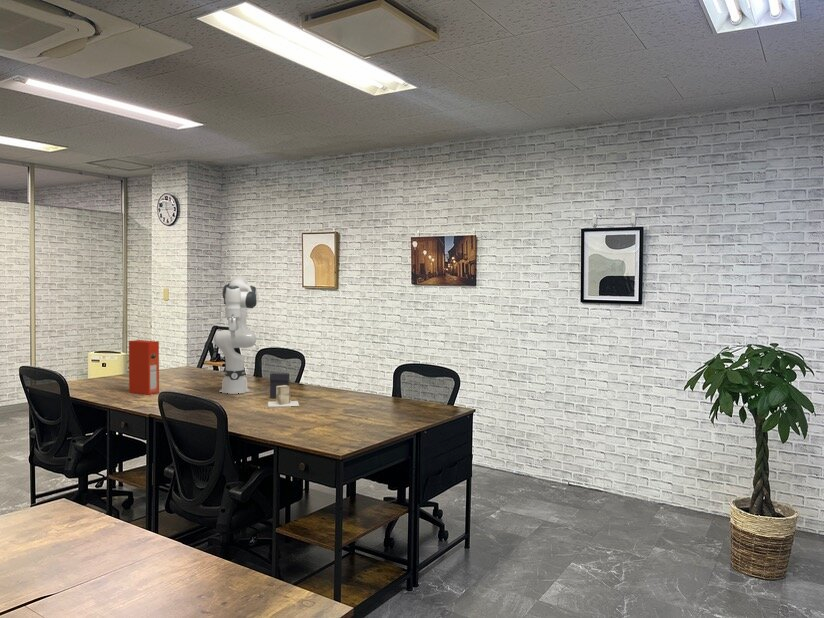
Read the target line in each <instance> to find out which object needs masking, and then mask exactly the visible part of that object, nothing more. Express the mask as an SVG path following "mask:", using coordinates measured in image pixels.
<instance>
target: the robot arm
mask: <svg viewBox="0 0 824 618" xmlns="http://www.w3.org/2000/svg"><path fill="white" fill-rule="evenodd" d="M221 295H222V298H223V304H224V305H225V308H224V316H225V318H227V325H228V329H226V330H224V329H223V330H218V331H217V332H215V334H214V336H213V343H214V345H215V346H216V347H217V348H219V349H220V350H221V352H222V353H223V355H224V359H225V370H224V377H223V378H222V384H221V385H222V386H221V389H220V390H218V391H219V393H220V392H222V393H221V394H227V393H228V394H229V395H230V394H231V395H237V394H238V393H239V394H244V393H251V389H250V388H249V387H248V378H247V377H246V376H245V374H246V371H245V358H244V356H243V355H242V354H241V353H238V352H237V351H235V349H237V348H238V349H239V348H240V349H246V348H251V347H252V348H253V347H254V346H255V345H256V342H257V334H256V333H255V332H254V331H252V330H251V329H250V328H249V327H248V325H247V320H248V319H247V316H248V309H253V308H255V307H256V306H257V304H258V290H257V288H256V287H255V286H253V285H249V284H248V281H247V279H246V278H245V277H244V276H242V275H236V276H234V278H232V279H231V281H230V282H228V284H227V283H226V284H225V285H224V286H223V288H222V290H221Z"/></svg>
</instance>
